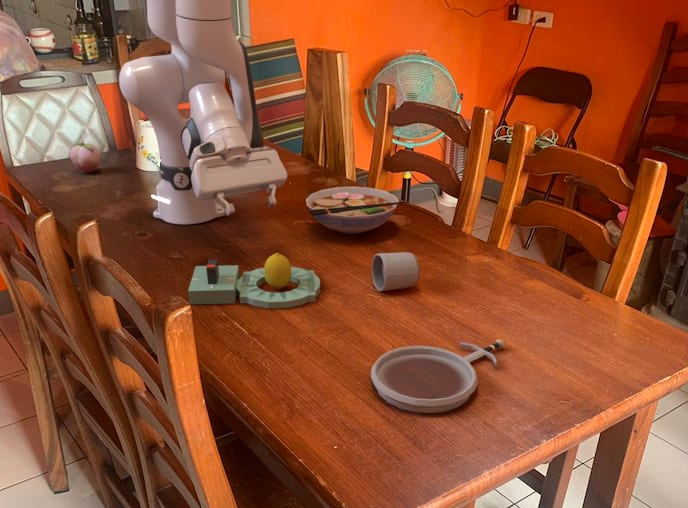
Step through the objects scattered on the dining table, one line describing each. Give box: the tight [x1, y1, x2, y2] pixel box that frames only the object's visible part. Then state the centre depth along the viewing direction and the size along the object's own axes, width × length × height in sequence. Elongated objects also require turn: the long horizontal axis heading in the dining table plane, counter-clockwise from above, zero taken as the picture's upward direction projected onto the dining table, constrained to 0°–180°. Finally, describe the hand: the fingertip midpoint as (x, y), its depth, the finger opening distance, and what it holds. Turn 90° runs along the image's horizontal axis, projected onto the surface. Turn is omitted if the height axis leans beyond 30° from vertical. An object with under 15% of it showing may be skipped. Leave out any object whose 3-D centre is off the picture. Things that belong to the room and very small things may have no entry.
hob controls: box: [187, 264, 240, 305], centre depth 138 cm, size 12×9×3 cm
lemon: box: [263, 252, 292, 291], centre depth 137 cm, size 6×6×8 cm
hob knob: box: [206, 259, 219, 284], centre depth 136 cm, size 4×2×4 cm, turn 3°
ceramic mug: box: [371, 251, 421, 292], centre depth 139 cm, size 11×8×8 cm
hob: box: [236, 266, 321, 309], centre depth 139 cm, size 17×17×2 cm
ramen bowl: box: [305, 186, 411, 235], centre depth 167 cm, size 25×23×8 cm
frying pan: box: [370, 338, 505, 414], centre depth 111 cm, size 17×3×28 cm
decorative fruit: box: [69, 139, 102, 174], centre depth 210 cm, size 9×8×10 cm
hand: (252, 209), depth 140 cm, fingers open, 8 cm apart
